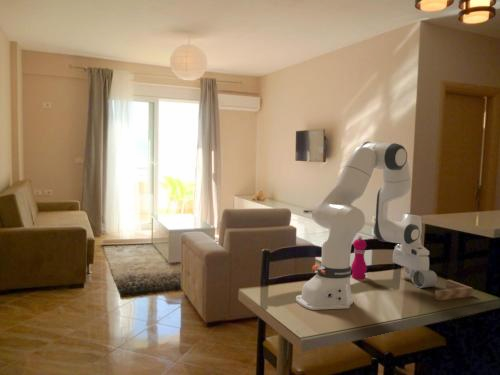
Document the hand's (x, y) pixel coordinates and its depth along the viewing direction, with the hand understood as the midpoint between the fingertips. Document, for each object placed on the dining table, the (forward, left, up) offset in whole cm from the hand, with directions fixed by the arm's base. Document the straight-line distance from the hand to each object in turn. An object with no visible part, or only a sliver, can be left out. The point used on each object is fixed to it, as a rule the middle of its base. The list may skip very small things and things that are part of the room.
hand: (409, 277), depth 191 cm
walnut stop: (+1, -20, -2) cm, 20 cm away
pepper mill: (-20, +11, -2) cm, 23 cm away
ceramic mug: (0, -8, -2) cm, 9 cm away
